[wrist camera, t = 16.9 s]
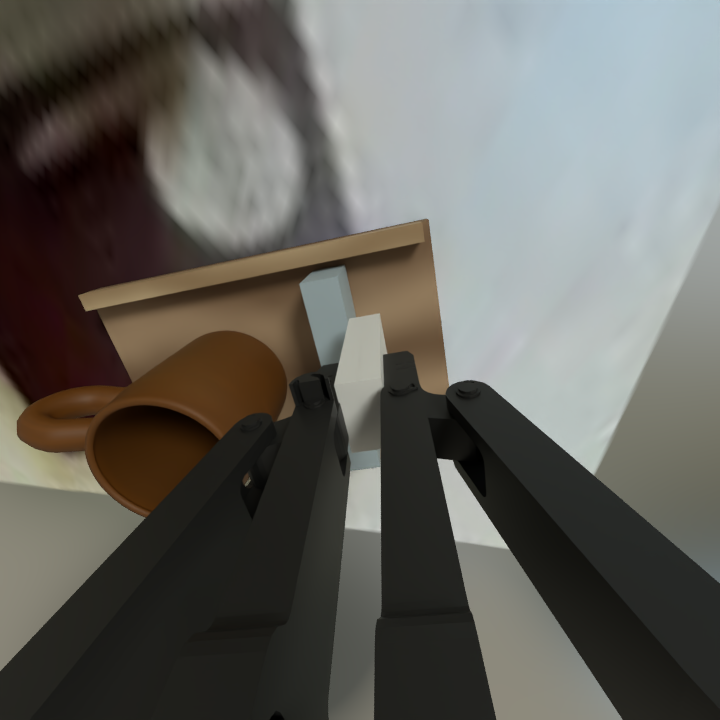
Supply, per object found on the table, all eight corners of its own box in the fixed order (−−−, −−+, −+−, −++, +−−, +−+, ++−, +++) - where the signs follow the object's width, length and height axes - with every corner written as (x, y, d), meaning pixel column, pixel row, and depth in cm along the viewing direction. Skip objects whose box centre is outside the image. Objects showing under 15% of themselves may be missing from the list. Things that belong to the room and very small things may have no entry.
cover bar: (312, 270, 22) (299, 283, 18) (344, 264, 22) (337, 276, 18) (353, 434, 27) (349, 470, 23) (380, 430, 26) (380, 466, 23)
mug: (126, 405, 27) (4, 501, 18) (114, 306, 24) (-39, 365, 15) (286, 431, 27) (241, 539, 18) (294, 336, 24) (246, 410, 15)
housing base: (101, 288, 25) (70, 296, 22) (426, 218, 22) (431, 220, 19) (185, 464, 30) (168, 486, 28) (452, 427, 27) (458, 448, 25)
